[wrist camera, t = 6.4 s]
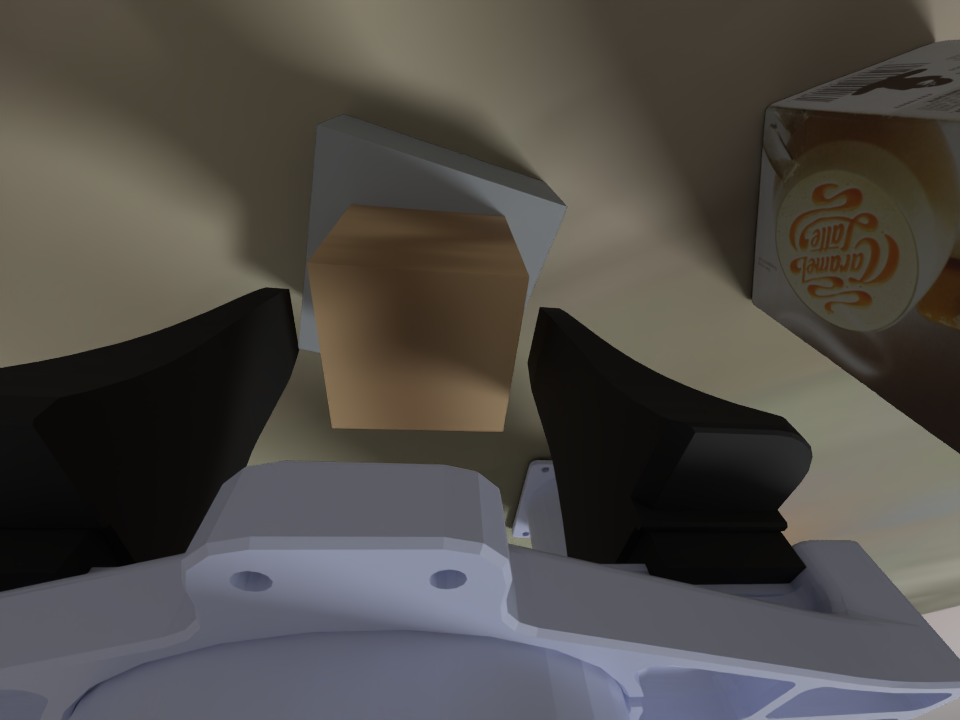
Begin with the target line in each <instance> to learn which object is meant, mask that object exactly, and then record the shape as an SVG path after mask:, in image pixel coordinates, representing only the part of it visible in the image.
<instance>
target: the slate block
mask: <svg viewBox="0 0 960 720" xmlns="http://www.w3.org/2000/svg"><path fill="white" fill-rule="evenodd" d="M350 204H353V205H366V206H379V207H392V208H405V209H418V210H431V211H444V212H457V213H470V214H482V215H495V216H505V218H506V220H507V223H508V225H509V228H510V230H511V233H512V235H513V237H514V240H515V242H516V245H517V247H518V250H519V252H520V255H521V257H522V259H523V262H524V264H525V267H526V269H527V272H528V274H529V277H530V278H529V284H528V289H527V295H526V301H525V307H526V304H527V302H528V300H529V297H530V295H531V293H532V290H533V288H534V285H535V283H536V281H537V278H538V276H539V274H540V271H541V269H542V266H543V264H544V262H545V259H546V257H547V255H548V252H549V250H550V247H551V245H552V243H553V240H554V238H555V236H556V233H557V231H558V228H559V226H560V224H561V221H562V219H563V217H564V214H565V212H566V209H567V206H566V205H565V203H564V202H563V201H562V200H561V199H560V198H559V197H558V196H557V195H556V194H555V192H554V191H553V190H552V189H551V188H550V187H549V186H548V185H547V184H546V183H545V182H542V181H539V180H536V179H534V178H531V177H528V176H525V175H522V174H519V173H516V172H513V171H510V170H507V169H504V168H501V167H498V166H495V165H492V164H489V163H486V162H483V161H480V160H478V159H475V158H472V157H469V156H466V155H463V154H460V153H457V152H454V151H451V150H448V149H445V148H442V147H439V146H436V145H433V144H430V143H427V142H424V141H422V140H419V139H416V138H413V137H410V136H407V135H404V134H401V133H398V132H395V131H392V130H389V129H386V128H383V127H380V126H377V125H374V124H371V123H368V122H366V121H363V120H360V119H357V118H354V117H351V116H348V115H345V114H342V115H340V116H337V117H335V118H332V119H330V120H327V121H324V122H322V123H319V124H317V131H316V143H315V155H314V167H313V179H312V191H311V203H310V215H309V227H308V239H307V251H306V263H305V275H304V287H303V299H302V311H301V323H300V335H299V349H304V350H308V351H313V352H318V353H320V346H319V340H318V333H317V327H316V320H315V314H314V307H313V301H312V294H311V288H310V281H309V275H308V268H307V262H308V261H309V259H310V258H311V257H312V255H313V254H314V253H315V251H316V250H317V249H318V247H319V246H320V245H321V243H322V242H323V241H324V239H325V238H326V237H327V235H328V234H329V233H330V231H331V230H332V229H333V227H334V226H335V225H336V223H337V222H338V221H339V219H340V218H341V217H342V215H343V214H344V213H345V211H346V210H347V209H348V207H349V206H350ZM525 307H524V309H525Z"/></svg>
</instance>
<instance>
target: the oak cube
mask: <svg viewBox="0 0 960 720" xmlns="http://www.w3.org/2000/svg"><path fill="white" fill-rule="evenodd" d="M307 268H308V275H309V281H310V288H311V294H312V301H313V307H314V314H315V320H316V327H317V333H318V340H319V346H320V353H321V359H322V366H323V372H324V379H325V385H326V392H327V399H328V405H329V412H330V418H331V425H332V428H346V429H396V430H445V431H494V432H503V428H504V423H505V417H506V411H507V405H508V399H509V394H510V388H511V382H512V376H513V370H514V365H515V359H516V353H517V347H518V341H519V336H520V330H521V324H522V318H523V312H524V307H525V301H526V295H527V289H528V284H529V278H530V277H529V274H528V272H527V269H526V267H525V264H524V262H523V259H522V257H521V255H520V252H519V250H518V247H517V245H516V242H515V240H514V237H513V235H512V233H511V230H510V228H509V225H508V223H507V220H506V218H505V216H495V215H482V214H470V213H457V212H444V211H431V210H418V209H405V208H392V207H379V206H366V205H353V204H350V206H349V207H348V209H347V210H346V211H345V213H344V214H343V215H342V217H341V218H340V219H339V221H338V222H337V223H336V225H335V226H334V227H333V229H332V230H331V231H330V233H329V234H328V235H327V237H326V238H325V239H324V241H323V242H322V243H321V245H320V246H319V247H318V249H317V250H316V251H315V253H314V254H313V255H312V257H311V258H310V259H309V261H308V262H307Z"/></svg>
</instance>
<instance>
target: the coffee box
mask: <svg viewBox="0 0 960 720" xmlns="http://www.w3.org/2000/svg"><path fill="white" fill-rule="evenodd" d="M752 303H753V304H754V305H755V306H756V307H757V308H759V309H761V310H762V311H763V312H765V313H766V314H767V315H769V316H770V317H772V318H773V319H774V320H776V321H777V322H779V323H780V324H781V325H783V326H784V327H786V328H787V329H788V330H790V331H791V332H792V333H794V334H795V335H796V336H798V337H799V338H801V339H802V340H803V341H804V342H806V343H808V344H809V345H810V346H812V347H813V348H815V349H816V350H817V351H819V352H820V353H821V354H823V355H824V356H826V357H828V358H829V359H830V360H831V361H832V362H834V363H835V364H836V365H838V366H839V367H841V368H842V369H843V370H844V371H846V372H847V373H849V374H850V375H852V376H853V377H855V378H856V379H857V380H859V381H860V382H861V383H863V384H864V385H866V386H867V387H868V388H870V389H871V390H872V391H874V392H876V393H877V394H878V395H879V396H880V397H882V398H883V399H884V400H886V401H887V402H889V403H890V404H891V405H893V406H894V407H895V408H896V409H898V410H900V411H901V412H902V413H904V414H905V415H906V416H908V417H909V418H911V419H912V420H913V421H915V422H916V423H918V424H919V425H920V426H922V427H923V428H925V429H926V430H927V431H928V432H930V433H931V434H933V435H934V436H936V437H937V438H938V439H940V440H941V441H943V442H944V443H946V444H947V445H948V446H950V447H951V448H952V449H954V450H955V451H957V452H958V453H959V454H960V40H948V41H941V42H936V43H932V44H929V45H926V46H923V47H920V48H918V49H915V50H912V51H910V52H907V53H905V54H902V55H899V56H897V57H894V58H891V59H889V60H886V61H884V62H881V63H878V64H876V65H873V66H871V67H868V68H865V69H862V70H860V71H857V72H854V73H852V74H849V75H846V76H844V77H841V78H838V79H836V80H833V81H830V82H828V83H825V84H822V85H820V86H817V87H814V88H812V89H809V90H807V91H804V92H802V93H799V94H796V95H794V96H791V97H789V98H786V99H783V100H781V101H778V102H775V103H773V104H771V105H770V106H768V108H767V110H766V113H765V123H764V136H763V151H762V164H761V178H760V193H759V207H758V220H757V234H756V249H755V264H754V279H753V294H752Z"/></svg>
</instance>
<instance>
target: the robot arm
mask: <svg viewBox="0 0 960 720" xmlns="http://www.w3.org/2000/svg"><path fill="white" fill-rule="evenodd" d="M298 352H299V347H298V340H297V334H296V328H295V322H294V316H293V310H292V304H291V298H290V292H289V289H280V288H263V289H259V290H256V291H254V292H251V293H249V294H246V295H244V296H242V297H240V298H237V299H235V300H233V301H231V302H228V303H226V304H224V305H222V306H219V307H217V308H215V309H213V310H210V311H208V312H206V313H203V314H201V315H198V316H196V317H193V318H191V319H188V320H186V321H183V322H181V323H178V324H176V325H173V326H171V327H168V328H165V329H163V330H160V331H157V332H154V333H151V334H148V335H145V336H141V337H138V338H135V339H132V340H128V341H125V342H122V343H118V344H114V345H110V346H106V347H102V348H98V349H94V350H90V351H85V352H81V353H77V354H73V355H69V356H64V357H59V358H54V359H49V360H44V361H39V362H33V363H28V364H22V365H16V366H10V367H4V368H0V720H911V719H913V718H915V717H918V716H920V715H922V714H924V713H926V712H928V711H931V710H933V709H935V708H937V707H939V706H942V705H944V704H946V703H948V702H950V701H952V700H955V699H957V698H959V697H960V659H959V658H958V657H957V656H956V655H955V653H954V652H953V651H952V650H951V649H950V648H949V646H947V644H946V643H945V642H944V641H943V640H942V639H941V637H940V636H939V635H938V634H937V633H936V632H935V630H933V628H932V627H931V626H930V625H929V624H928V623H927V621H926V620H925V619H924V618H923V617H922V616H921V615H920V613H919V612H918V611H917V610H916V609H915V608H914V607H913V605H912V604H911V603H910V602H909V601H908V600H907V599H906V597H905V596H904V595H903V594H902V593H901V592H900V591H899V589H898V588H897V587H896V586H895V585H894V584H893V583H892V581H891V580H890V579H889V578H888V577H887V576H886V575H885V574H884V572H883V571H882V570H881V569H880V568H879V567H878V566H877V564H876V563H875V562H874V561H873V560H872V559H871V558H870V556H869V555H868V554H867V553H866V552H865V551H864V550H863V548H862V547H861V546H860V545H859V544H858V543H857V542H855V541H851V540H809V541H802V542H800V543H797V544H794V545H793V546H791V545H790V544H789V542H788V541H787V540H786V538H785V537H784V535H783V534H782V533H781V531H785V530H786V528H787V522H786V521H785V519H784V518H783V517H782V515H781V514H780V513H779V511H778V508H779V507H780V506H781V505H782V504H783V503H784V501H785V500H786V499H787V498H788V497H789V496H790V494H791V493H792V492H793V491H794V490H795V489H796V487H797V486H798V485H799V484H800V483H801V481H802V480H803V478H804V477H805V475H806V474H807V472H808V471H809V467H810V464H811V460H812V451H811V446H810V445H809V444H808V443H807V441H806V440H805V439H804V438H803V437H802V436H801V435H800V434H799V433H798V432H797V431H796V429H795V428H794V427H793V426H792V425H791V424H790V423H789V422H788V421H787V420H786V419H785V418H783V417H782V416H778V415H774V414H771V413H767V412H764V411H760V410H756V409H753V408H749V407H746V406H742V405H738V404H735V403H732V402H729V401H726V400H723V399H720V398H717V397H714V396H712V395H709V394H706V393H703V392H701V391H698V390H696V389H693V388H690V387H688V386H686V385H683V384H681V383H679V382H677V381H674V380H672V379H670V378H668V377H665V376H663V375H661V374H659V373H657V372H655V371H653V370H651V369H650V368H648V367H646V366H644V365H642V364H640V363H639V362H637V361H635V360H633V359H632V358H630V357H628V356H627V355H625V354H624V353H622V352H621V351H619V350H617V349H616V348H614V347H613V346H611V345H610V344H609V343H607V342H606V341H604V340H603V339H601V338H600V337H599V336H597V335H596V334H595V333H593V332H592V331H591V330H589V329H588V328H587V327H585V326H584V325H583V324H581V323H580V322H579V321H577V320H576V319H575V318H573V317H572V316H571V315H569V314H568V313H566V312H565V311H563V310H561V309H560V308H546V307H540V309H539V313H538V318H537V322H536V327H535V331H534V336H533V341H532V345H531V350H530V354H529V359H528V370H529V377H530V383H531V389H532V393H533V396H534V400H535V403H536V406H537V410H538V413H539V416H540V419H541V423H542V426H543V429H544V432H545V436H546V439H547V442H548V445H549V449H550V453H551V457H552V460H535V461H533V462H531V463H530V465H529V468H528V471H527V475H526V479H525V483H524V486H523V490H522V494H521V497H520V501H519V505H518V509H517V512H516V516H515V520H514V524H513V527H512V535H513V536H514V537H517V538H531V543H532V548H533V549H530V548H526V547H521V546H517V545H512V544H508V541H507V533H506V526H505V518H504V511H503V505H502V500H501V495H500V489H499V488H498V487H497V486H495V485H494V484H493V483H491V482H490V481H489V480H488V479H486V478H485V477H484V476H482V475H481V474H480V473H479V472H476V471H474V470H469V469H464V468H459V467H454V466H449V465H445V464H409V463H366V462H324V461H280V462H274V463H267V464H261V465H254V466H248V467H246V466H247V463H248V461H249V458H250V455H251V453H252V450H253V448H254V446H255V444H256V442H257V440H258V438H259V436H260V434H261V432H262V430H263V428H264V426H265V425H266V423H267V421H268V419H269V417H270V415H271V413H272V411H273V410H274V408H275V406H276V404H277V402H278V400H279V398H280V396H281V395H282V393H283V391H284V389H285V387H286V385H287V383H288V381H289V379H290V377H291V374H292V371H293V368H294V365H295V362H296V359H297V356H298ZM544 467H546V468H544Z"/></svg>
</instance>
